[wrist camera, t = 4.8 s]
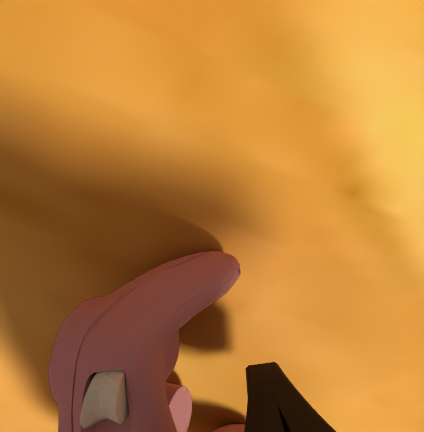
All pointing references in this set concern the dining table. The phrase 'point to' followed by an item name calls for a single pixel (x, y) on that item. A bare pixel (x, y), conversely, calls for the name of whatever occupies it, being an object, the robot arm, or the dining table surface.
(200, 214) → the dining table surface
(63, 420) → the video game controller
